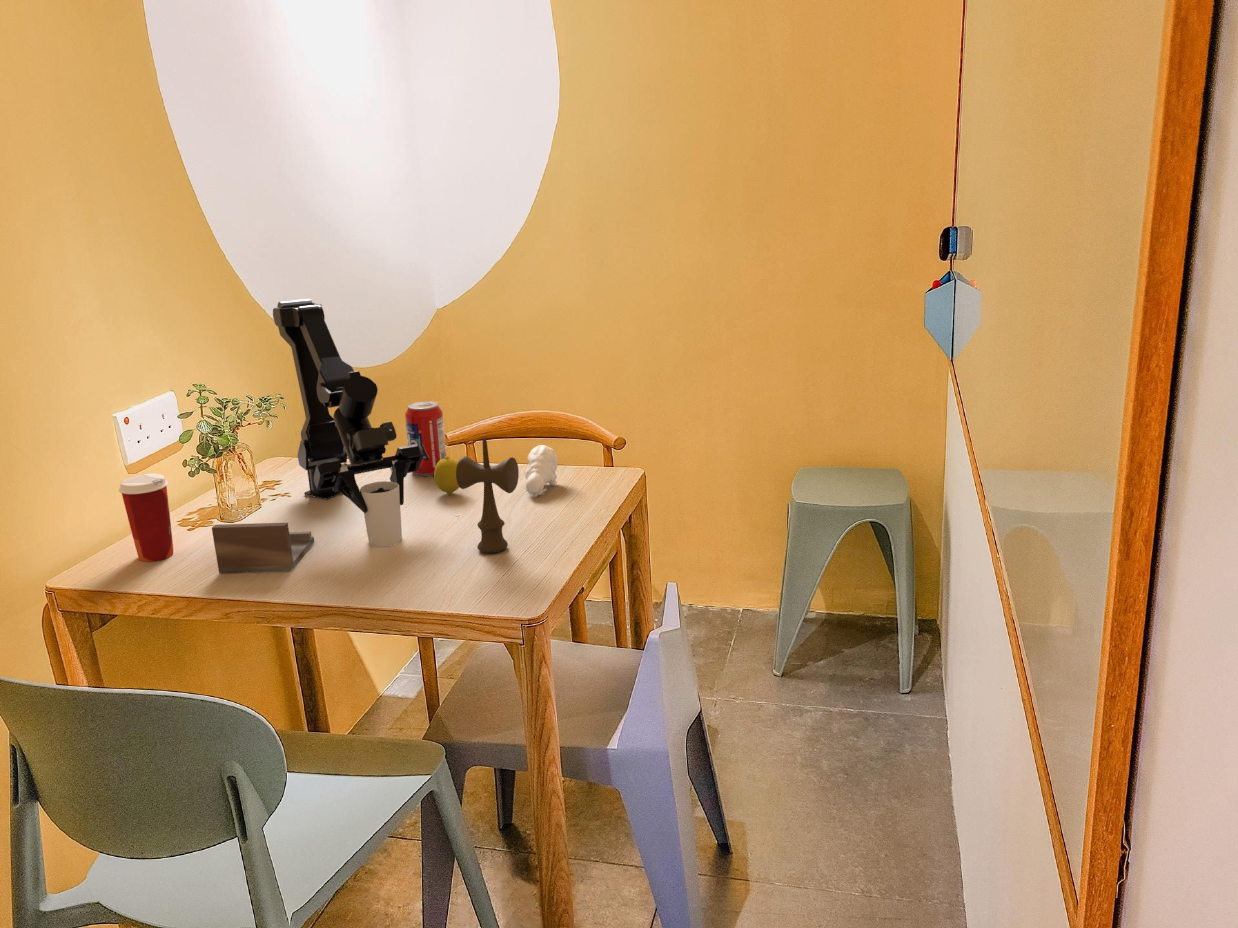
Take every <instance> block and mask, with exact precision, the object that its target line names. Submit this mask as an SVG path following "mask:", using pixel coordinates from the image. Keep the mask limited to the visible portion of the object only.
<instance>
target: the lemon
mask: <svg viewBox="0 0 1238 928" xmlns="http://www.w3.org/2000/svg"><path fill="white" fill-rule="evenodd" d="M458 462H459V461H457V460H456V459H454V458H452V457H449V456H447V455H446V457H445V458H443V459H441V460H440V461H439V462H438V463H437V465H436V467H435V471H434V475H433V477H434V482H435V485H436V487H437V488H438V490H440V491H441V492H444V493H446V494H447V495H449V496H450V495H453V493H454V492H455V491H457V490H458V489H459V486H458V484H457V480H456V468H457V464H458Z"/></svg>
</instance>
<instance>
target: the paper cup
mask: <svg viewBox="0 0 1238 928" xmlns="http://www.w3.org/2000/svg"><path fill="white" fill-rule="evenodd" d="M168 485H169V482H168V480H166V477H165V476H164V474H160V473H144V474H143V473H142V474H138V475H137V474H136V475H132V476H130V477H127V478H125V479H123V480H122V481H121V482H120V487H119V488H118V493H121V496H122V500H123V504H124V507H125V511H126V515H127V519H128V524H129V527H130V531H131V534H132V535H131V536H132V539H133V542H134V547H135V551H136V554H137V556H138V559H139V561H141V562H144V563H146V562H147V563H154V562H159V561H163V560H166V559H168V558H170V557H172V556H173V555H174V543H173V534H172V533H173V532H172V522H171V516H170V515H171V514H170V507H169V506H170V505H169V497H168V489H167V488H168V487H167V486H168Z"/></svg>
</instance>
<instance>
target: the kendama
mask: <svg viewBox="0 0 1238 928" xmlns="http://www.w3.org/2000/svg"><path fill="white" fill-rule="evenodd" d="M489 456H490V455H489V449H488V442H487V437H482V461H483V462H482V464H481V463H479V462H477V461H475V460H474V459H473V458H470V457H469V456H467V455H465V456H461V458H459V460H458V461H457V462H458V464H457V468H456V480H457V484H458V486H459V488H460V489H461V490H465V489H468V488H470V487H472V486H474V485H475V484H479V483H483V502H482V512H481V513H482V514H481V519H480V520H479V521H478V522H477V527H478V529H480V533H481V538H480V539H481V540H480V542H479V543H478V544H477V547H476V548H477V550H478V551H480V552H482V553H488V554H490V553H491V554H495V553H499V552H503V551H505V549H507V547H508V545H509V543H508V541H507V540H506V539H505V537H504V535H503V527H504V526H505V521H504V520H503V519H501V517H500V516H499V512H498V508H497V505H496V498H495V494H494V490H493V488H494V487H493V485H495V486H497V487H498V488H500V489H501V490H502V491H503V492H505V493H507V494H511V493H513V492H514V491H515V490H516V489H517V486H518V482H519V475H520V474H519V464H518V461H517V459H516V458H515V457H513V456H511V457H507V458H506V459H505V460H503V461H501V462H500V463H498V464H495V465H490V457H489ZM459 488H458V489H459Z"/></svg>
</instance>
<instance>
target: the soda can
mask: <svg viewBox="0 0 1238 928" xmlns="http://www.w3.org/2000/svg"><path fill="white" fill-rule="evenodd" d="M404 420H405V428H406V429H405V430H406V431H405V432H406V439H407V446H409V445H415V444H416V445H417V446H419V447H420V448H421V450H422V452H423V455H424V456H423V458H422V461H421V464H420V466H419V469H418V470H417V471H415V472H412V473H413V474H415V475H417V476H420V477H431V476H433V477H434V471H435V467H436V465H437V463H438V462H439V461H440V460H441V459H443V458H445V457H446V456H447V448H446V447H447V446H446V437H445V436H446V435H445V426H444V415H443V410H442V409H441V407H440V406H439V402H436V401H417V402H412V403H409V404H408V405H407V409H406V411H405V413H404Z"/></svg>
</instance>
